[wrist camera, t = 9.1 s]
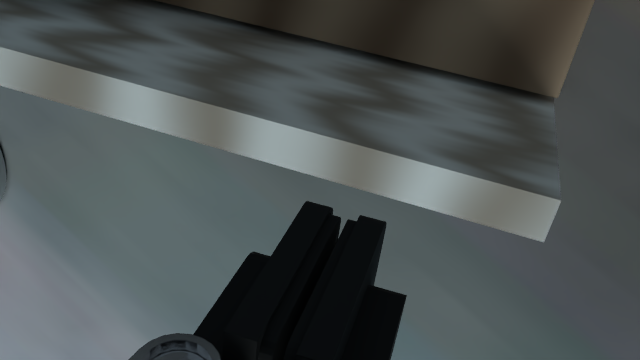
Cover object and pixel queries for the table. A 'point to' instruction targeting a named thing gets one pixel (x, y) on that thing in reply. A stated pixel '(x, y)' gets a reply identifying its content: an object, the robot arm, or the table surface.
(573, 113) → the table surface
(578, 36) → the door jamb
